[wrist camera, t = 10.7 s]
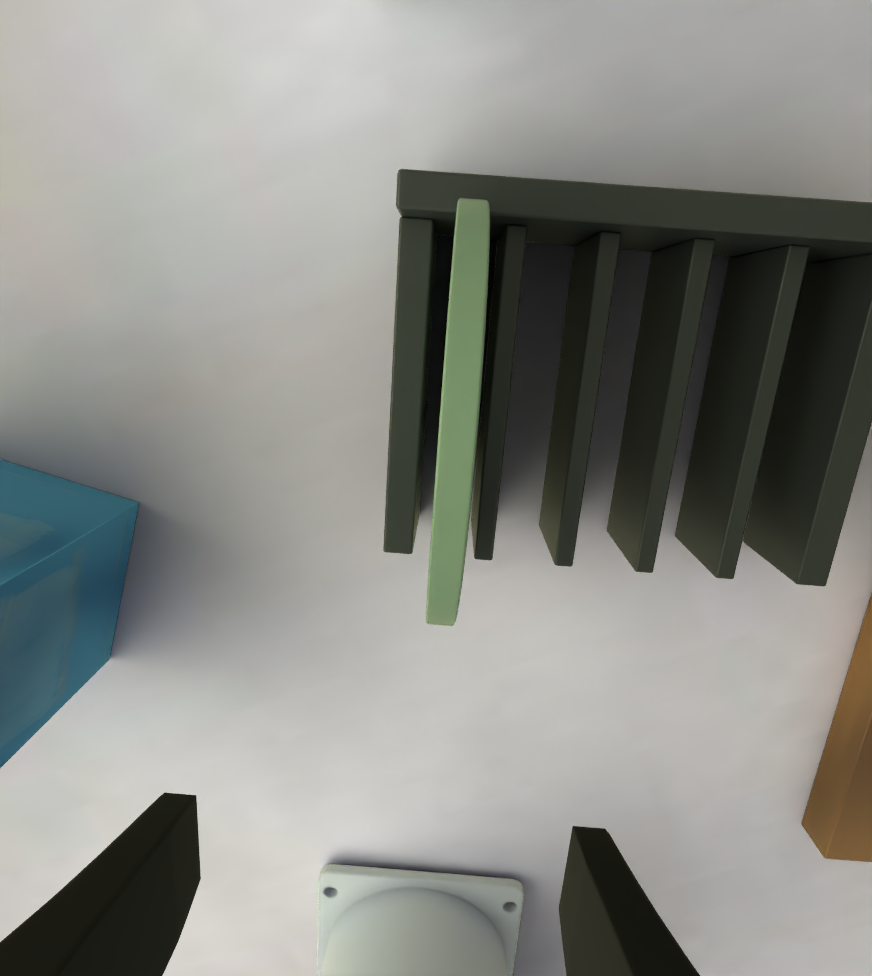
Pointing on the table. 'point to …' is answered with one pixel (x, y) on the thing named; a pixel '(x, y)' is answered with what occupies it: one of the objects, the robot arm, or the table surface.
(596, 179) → the table surface
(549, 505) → the dish rack
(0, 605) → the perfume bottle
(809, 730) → the table surface
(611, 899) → the robot arm
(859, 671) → the cutting board
